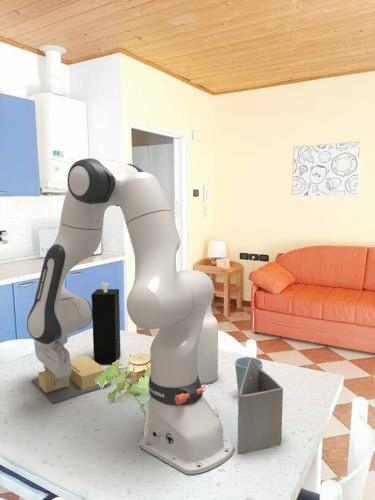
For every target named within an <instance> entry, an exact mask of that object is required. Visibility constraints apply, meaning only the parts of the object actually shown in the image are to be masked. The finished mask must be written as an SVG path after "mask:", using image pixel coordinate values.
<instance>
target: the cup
mask: <svg viewBox="0 0 375 500" xmlns="http://www.w3.org/2000/svg"><path fill="white" fill-rule="evenodd" d="M251 357H252V356H250V357H249V356H244V357H239V358H238V357H237V358H236V360H235V361H234V364H235V365H234V366H235V374H236V386H237V393H238V394H237V395H238V397H239V393H240V389H241V386H242V382H243V379H244V376H245V372H246V369H247V366H248V362H249V359H250V358H251ZM252 358H253V359H254V361H255V362H256V363H257V364H258V365H259V366H260V367H261V369H262V370H263V365H264V364H263V361H262V360H261V359H258V358H256V357H252Z"/></svg>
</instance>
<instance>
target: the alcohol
mask: <svg viewBox="0 0 375 500" xmlns="http://www.w3.org/2000/svg"><path fill="white" fill-rule="evenodd" d="M218 323H219V322H218V320H217V318H216V316H214V314H213V311H212V301H211V302H210V304H209V306H208V308H207V310H206V313H205V317H204V321H203V324H202V328H201V333H200V337H199V343H198V359H197V375H198V376H199V380H200V383H201V385H207V384H209V385H210V384H212V383H215V382H216V381H217V379H218V377H219V372H218V371H219V324H218Z"/></svg>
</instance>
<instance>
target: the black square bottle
mask: <svg viewBox="0 0 375 500" xmlns="http://www.w3.org/2000/svg"><path fill="white" fill-rule="evenodd" d="M100 283H101V286H102V288H97V289H95V290H94V292H92V293H91V294H90V295H91V308H92V313H93V316H92V341H93V342H92V343H93V344H92V345H93V349H92V351H93V360H94V361H95V362H96V363H98V364H99V365H113V364H112V363H113V362H115V361H116V360H117V359H119V360H120V358H121V355H122V354H121V351H122V350H121V317H120V314H121V313H120V289H119V288H109V287H110V286H111V283H109V282H105V281H103V282H102V281H101V282H100Z"/></svg>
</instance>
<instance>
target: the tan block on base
mask: <svg viewBox="0 0 375 500" xmlns="http://www.w3.org/2000/svg"><path fill="white" fill-rule="evenodd" d="M70 361H71V376H70V377H69V386H67V387H64V388H61V389H57V390H54V391H51V392H47V393H45V392H44V390H43V389H42V388H41V387H40V386H39V379H38V378H33V379H32V380H31V382H32V384H34V385H35V387H36V388H37V389H38V390H39V391H40V393H42V394H43V395H44V396H45V398H47V399H48V401H49V402H50V403H51V405H55V404H58V403H62V402H64V401H67V400H71V399H74V398H77V397H80V396H83V395H86V394H89V393H93V392H96V391H98V390H101V389H100V386H99V384H97V383H95V379H96V378H97V377H98V376H100V375H101V374H102V373H103V372H104V371H105V370H107V368H105V367H103V365H102V364H98V363H96V362H95V361H94V359H92V358H91V357H90V356H88V355H85V356H80V357H77V358H74V359H70ZM110 385H111V386H112V383H111V382H110V383H107V384H105V385H104V387H103V388H102V389H104V388H107V386H108V387H111V386H110Z"/></svg>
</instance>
